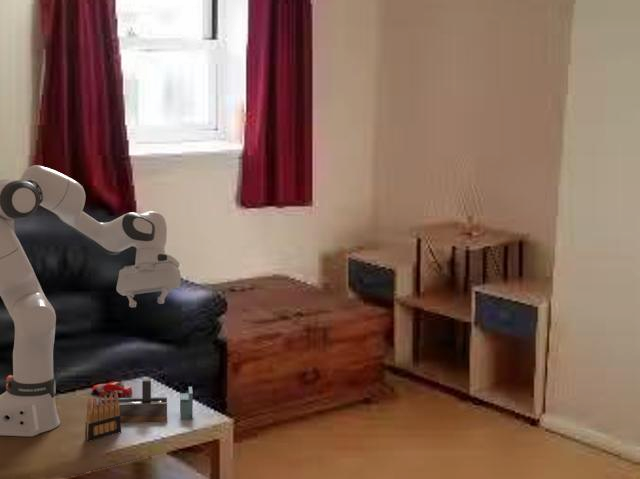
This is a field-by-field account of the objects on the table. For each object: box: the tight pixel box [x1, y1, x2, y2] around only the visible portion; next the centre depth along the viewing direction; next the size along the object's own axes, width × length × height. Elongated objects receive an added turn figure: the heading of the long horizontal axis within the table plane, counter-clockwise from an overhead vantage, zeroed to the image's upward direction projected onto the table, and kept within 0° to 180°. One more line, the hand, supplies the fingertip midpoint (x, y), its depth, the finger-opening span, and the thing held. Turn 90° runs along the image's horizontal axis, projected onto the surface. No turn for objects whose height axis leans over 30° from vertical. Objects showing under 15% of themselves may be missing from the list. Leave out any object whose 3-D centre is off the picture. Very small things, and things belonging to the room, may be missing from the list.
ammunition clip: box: [84, 392, 122, 442], centre depth 277 cm, size 11×2×12 cm, turn 134°
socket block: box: [179, 386, 194, 420], centre depth 295 cm, size 4×6×8 cm, turn 10°
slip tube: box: [108, 378, 162, 404], centre depth 292 cm, size 16×3×10 cm, turn 100°
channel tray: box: [92, 396, 168, 424], centre depth 292 cm, size 22×9×5 cm, turn 100°
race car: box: [91, 381, 133, 398], centre depth 312 cm, size 13×5×4 cm, turn 72°
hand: (146, 305), depth 295 cm, fingers open, 8 cm apart
